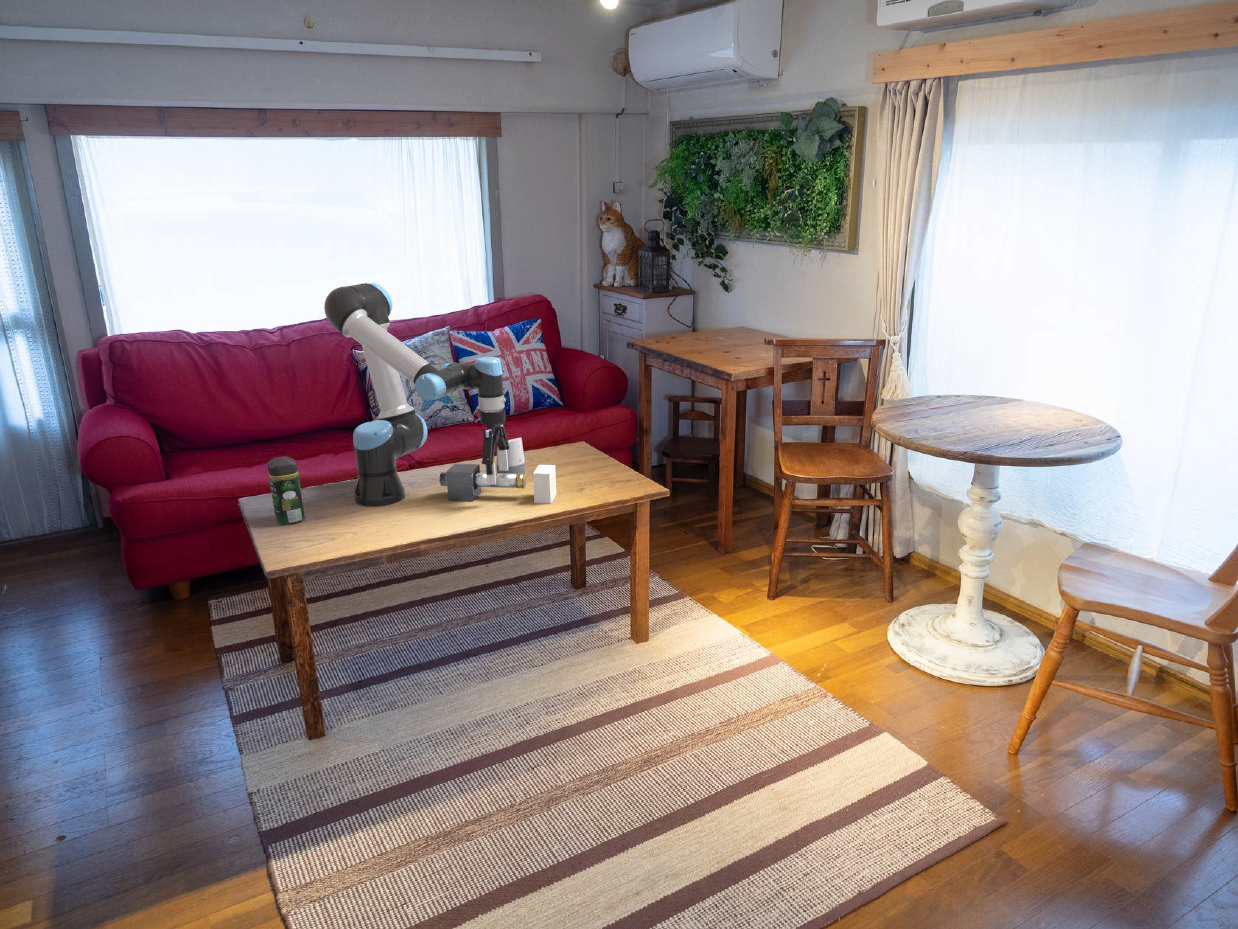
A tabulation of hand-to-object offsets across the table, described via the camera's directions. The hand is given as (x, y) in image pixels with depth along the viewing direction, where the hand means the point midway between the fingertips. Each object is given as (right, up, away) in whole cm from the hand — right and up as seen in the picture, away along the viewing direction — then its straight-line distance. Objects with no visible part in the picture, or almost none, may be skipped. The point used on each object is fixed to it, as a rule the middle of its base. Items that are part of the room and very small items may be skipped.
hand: (497, 477), depth 262 cm
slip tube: (-5, -3, +2) cm, 6 cm away
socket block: (+15, -7, 0) cm, 16 cm away
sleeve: (-11, -6, +4) cm, 13 cm away
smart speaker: (+2, -1, +19) cm, 19 cm away
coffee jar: (-59, -12, -13) cm, 61 cm away
